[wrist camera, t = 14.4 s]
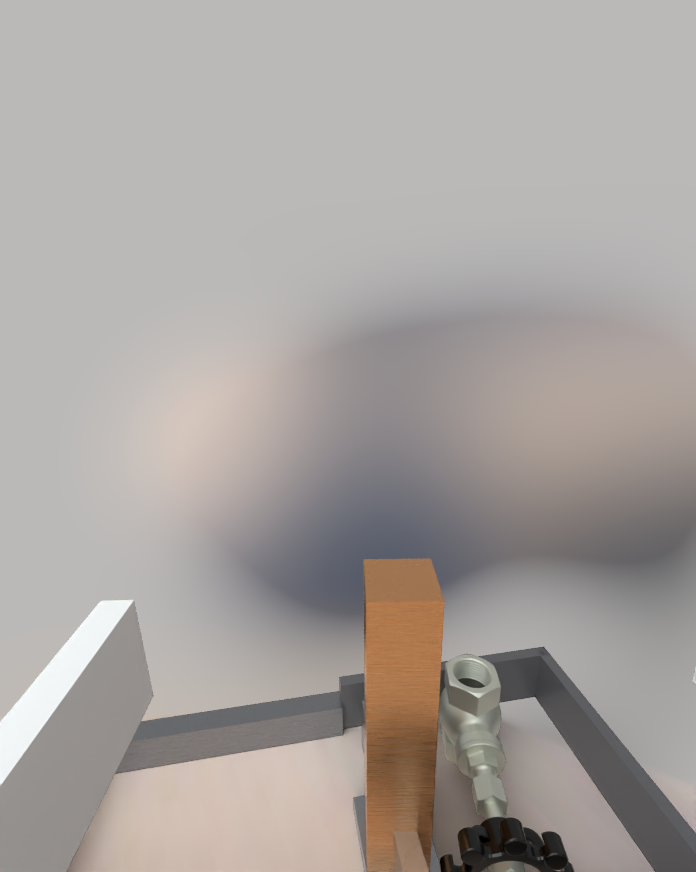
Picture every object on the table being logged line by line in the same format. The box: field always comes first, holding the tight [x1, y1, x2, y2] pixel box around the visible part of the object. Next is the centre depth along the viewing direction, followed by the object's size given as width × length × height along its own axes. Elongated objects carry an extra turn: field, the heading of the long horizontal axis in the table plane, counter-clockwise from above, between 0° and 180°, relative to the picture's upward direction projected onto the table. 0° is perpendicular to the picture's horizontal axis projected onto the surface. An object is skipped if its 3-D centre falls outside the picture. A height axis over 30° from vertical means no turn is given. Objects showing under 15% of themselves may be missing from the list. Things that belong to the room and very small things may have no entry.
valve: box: [439, 654, 574, 872], centre depth 28 cm, size 7×7×12 cm
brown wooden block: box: [353, 559, 444, 872], centre depth 24 cm, size 13×4×18 cm, turn 10°
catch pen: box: [339, 647, 696, 872], centre depth 27 cm, size 18×16×4 cm
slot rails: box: [115, 691, 343, 773], centre depth 24 cm, size 18×18×2 cm
